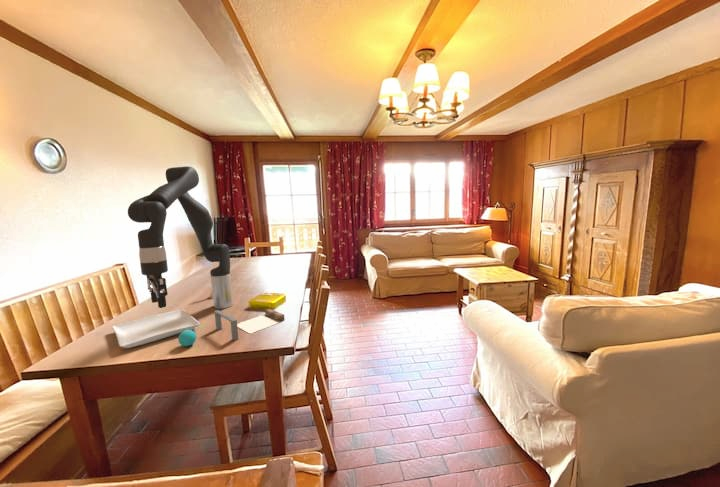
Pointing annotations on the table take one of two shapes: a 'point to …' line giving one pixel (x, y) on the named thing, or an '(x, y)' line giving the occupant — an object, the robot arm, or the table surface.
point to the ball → (187, 338)
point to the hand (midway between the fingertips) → (159, 304)
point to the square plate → (154, 328)
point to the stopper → (274, 314)
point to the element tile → (267, 301)
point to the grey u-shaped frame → (233, 321)
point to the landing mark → (256, 324)
